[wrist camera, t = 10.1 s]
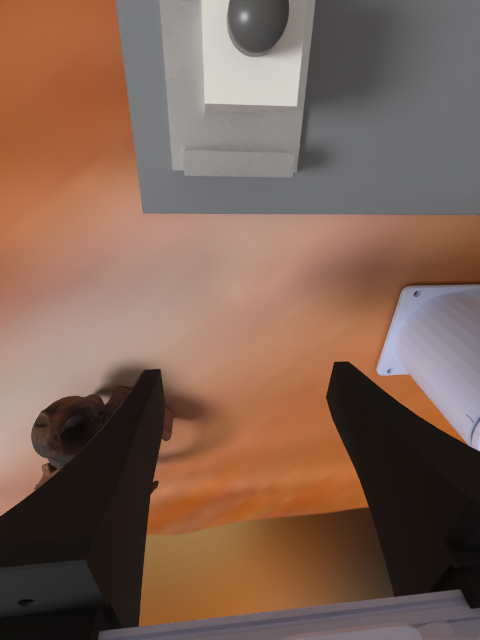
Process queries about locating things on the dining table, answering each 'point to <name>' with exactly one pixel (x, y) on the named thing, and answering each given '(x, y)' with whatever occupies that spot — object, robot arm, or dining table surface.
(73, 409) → the pottery mug
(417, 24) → the board
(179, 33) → the end holder
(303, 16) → the connector
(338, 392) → the robot arm
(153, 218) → the dining table surface
